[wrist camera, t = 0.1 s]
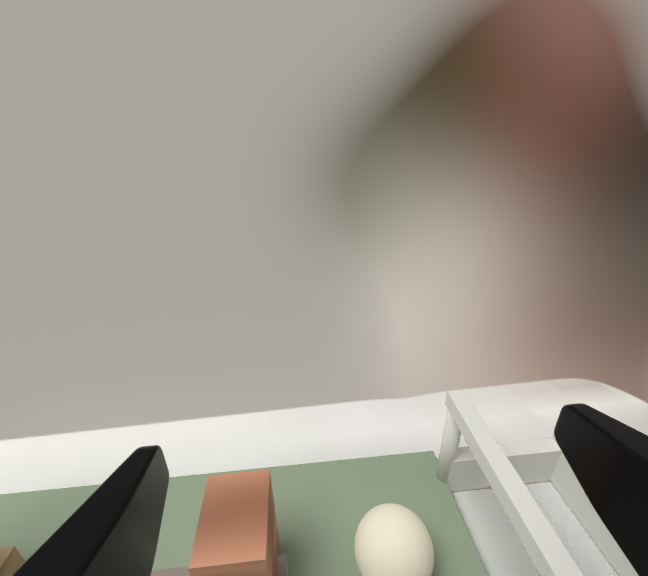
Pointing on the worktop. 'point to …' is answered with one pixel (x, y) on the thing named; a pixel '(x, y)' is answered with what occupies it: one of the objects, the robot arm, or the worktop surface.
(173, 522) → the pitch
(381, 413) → the worktop surface
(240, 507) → the post with bar block
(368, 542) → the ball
